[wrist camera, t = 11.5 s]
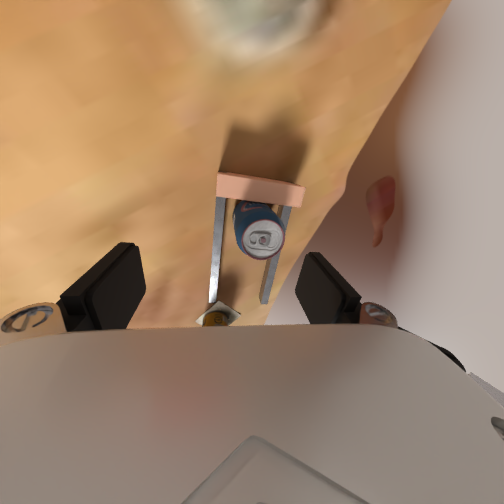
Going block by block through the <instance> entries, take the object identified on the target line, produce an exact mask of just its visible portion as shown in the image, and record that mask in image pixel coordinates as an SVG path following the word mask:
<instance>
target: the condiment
mask: <svg viewBox="0 0 504 504" xmlns="http://www.w3.org/2000/svg"><path fill="white" fill-rule="evenodd" d="M219 309H221V310H219ZM240 316H241V315H240V314H239V313H237V312H236V311H234V310H233V309H231V308H230V307H228V306H227V305H225V304H224V303H222V302H220V301H218V302H217V303H216V304H214V305H213V306H212V307H211V308H210V309H209V310H208V311H206V312H205V313H204V314H203V315H202V316H200V317H199V318H198V319H197V320H196V321H195V322H197V323H198V324H200V325H202V327H209V326H228V325H230V324H231V323H232V322H233V321H235V320H236V319H237V318H239V317H240ZM228 319H229V320H228Z"/></svg>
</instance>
